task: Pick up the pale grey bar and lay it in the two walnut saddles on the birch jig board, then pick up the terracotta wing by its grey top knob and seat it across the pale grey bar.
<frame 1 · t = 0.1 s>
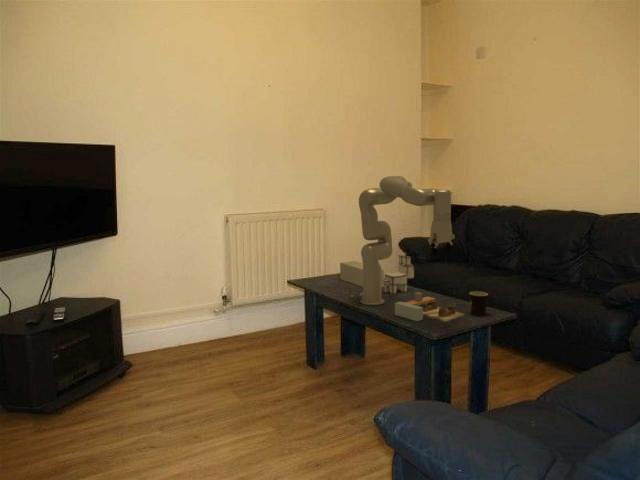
hand: (441, 255, 230), 31 cm above the table, tool pointing down, fingers open, 9 cm apart
grey rectangular block: (361, 283, 315), on the table
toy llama: (397, 291, 292), on the table
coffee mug: (478, 313, 248), on the table
jig: (437, 314, 247), on the table
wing: (418, 306, 261), on the table
pale grey bar: (408, 317, 244), on the table
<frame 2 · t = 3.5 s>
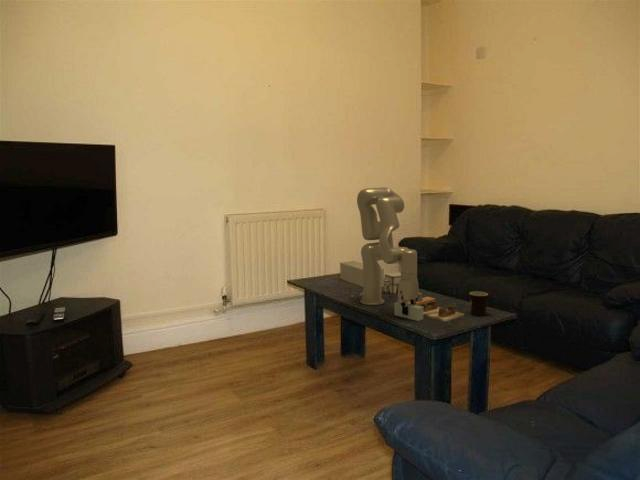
hand: (408, 313, 243), 2 cm above the table, tool pointing down, fingers closed on pale grey bar, 4 cm apart
pale grey bar: (408, 317, 244), on the table, touching gripper
everything else where it was.
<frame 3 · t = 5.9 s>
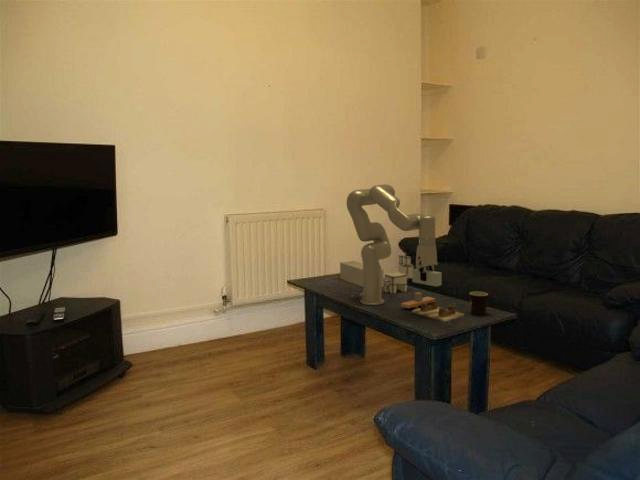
hand: (426, 279, 243), 18 cm above the table, tool pointing down, fingers closed on pale grey bar, 4 cm apart
pale grey bar: (426, 283, 243), point 16 cm above the table, touching gripper
everything else where it was.
when the fingers open (6 cm above the table, at t = 8.8 s): pale grey bar drops 1 cm, resting on jig.
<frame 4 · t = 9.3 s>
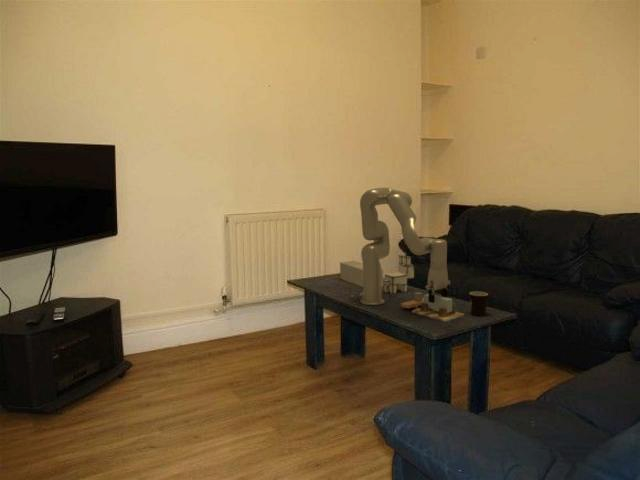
hand: (437, 300, 246), 7 cm above the table, tool pointing down, fingers open, 9 cm apart
pale grey bar: (437, 309, 247), point 2 cm above the table, touching jig
everything else where it was.
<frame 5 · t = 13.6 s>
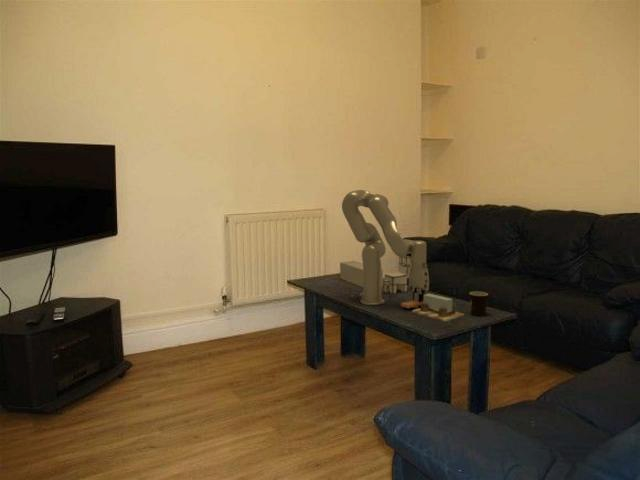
hand: (418, 300, 260), 3 cm above the table, tool pointing down, fingers closed on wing, 3 cm apart
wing: (418, 306, 261), on the table, touching gripper
everything else where it was.
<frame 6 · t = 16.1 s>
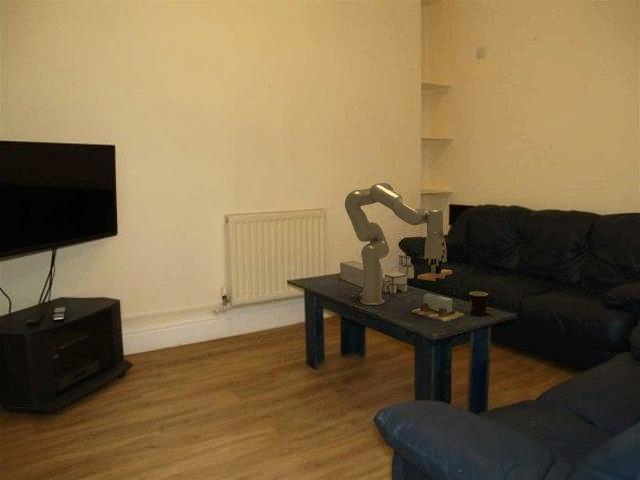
hand: (435, 272, 247), 20 cm above the table, tool pointing down, fingers closed on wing, 3 cm apart
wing: (435, 279, 247), point 17 cm above the table, touching gripper
everything else where it was.
when the fingers open (11 cm above the table, at t = 18.6 s): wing stays where it is, resting on pale grey bar.
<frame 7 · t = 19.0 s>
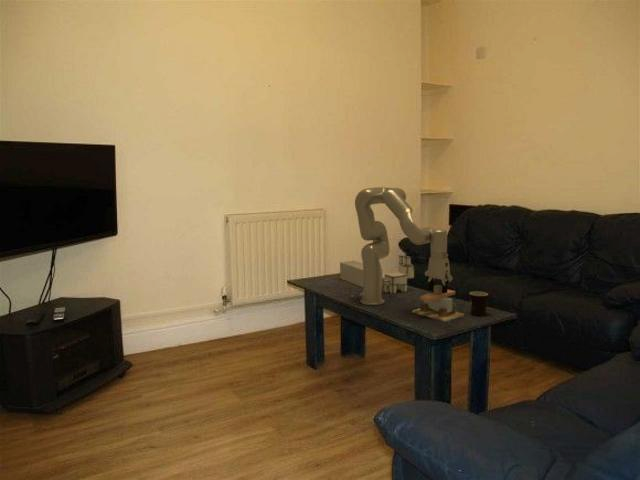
hand: (438, 291, 246), 11 cm above the table, tool pointing down, fingers open, 7 cm apart
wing: (438, 299, 246), point 7 cm above the table, touching pale grey bar
pale grey bar: (437, 309, 247), point 2 cm above the table, touching jig, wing
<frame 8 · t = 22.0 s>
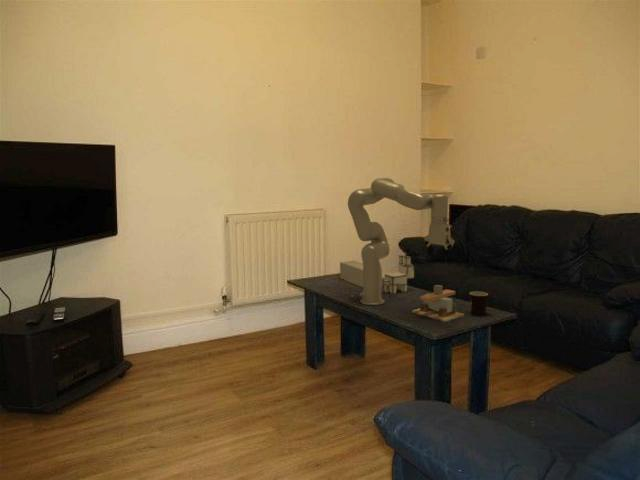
hand: (438, 256, 243), 28 cm above the table, tool pointing down, fingers open, 9 cm apart
at the end: pale grey bar 0.1 cm off-centre on the jig, point 2.5 cm above the jig's base; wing 0.1 cm off-centre on the jig, point 7.0 cm above the jig's base; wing tilted 0° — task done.
